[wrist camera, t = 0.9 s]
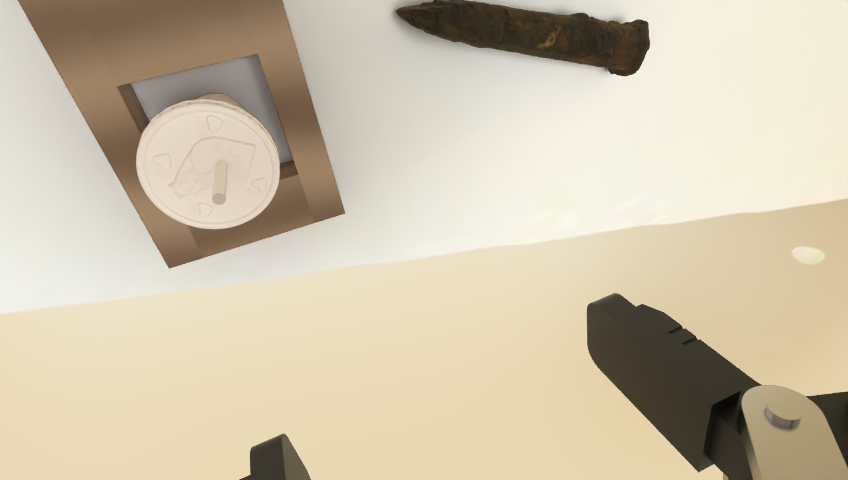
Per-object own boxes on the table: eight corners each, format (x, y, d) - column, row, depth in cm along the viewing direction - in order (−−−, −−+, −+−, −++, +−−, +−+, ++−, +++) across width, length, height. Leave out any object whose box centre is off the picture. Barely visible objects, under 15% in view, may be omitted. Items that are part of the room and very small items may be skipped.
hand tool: (624, 20, 37) (668, 23, 33) (607, 72, 39) (647, 81, 35) (400, -36, 30) (424, -40, 26) (391, 31, 32) (412, 36, 28)
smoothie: (288, 139, 32) (317, 224, 21) (207, 186, 32) (190, 300, 20) (230, 51, 29) (226, 94, 17) (137, 103, 28) (69, 183, 17)
